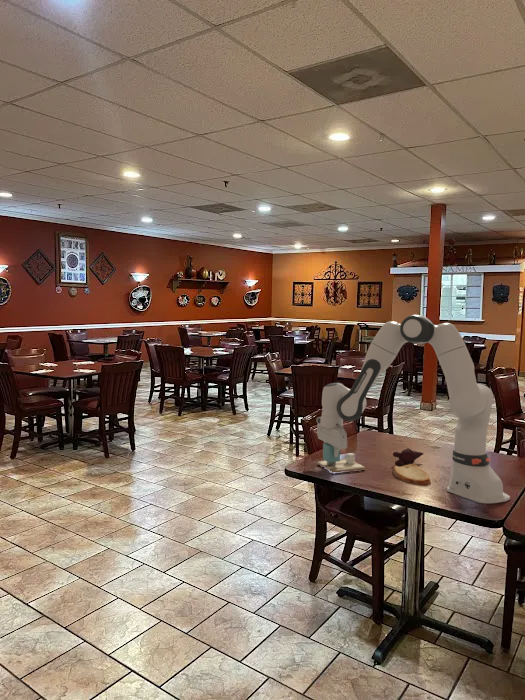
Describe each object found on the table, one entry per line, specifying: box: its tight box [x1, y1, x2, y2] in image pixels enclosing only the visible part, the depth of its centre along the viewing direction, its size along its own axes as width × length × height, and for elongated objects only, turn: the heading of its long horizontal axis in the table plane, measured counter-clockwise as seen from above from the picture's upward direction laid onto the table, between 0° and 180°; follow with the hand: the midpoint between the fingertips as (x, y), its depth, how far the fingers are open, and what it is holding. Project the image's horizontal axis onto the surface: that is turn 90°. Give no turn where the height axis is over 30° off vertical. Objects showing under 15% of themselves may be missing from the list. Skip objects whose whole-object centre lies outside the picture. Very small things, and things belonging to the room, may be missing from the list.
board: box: [316, 458, 366, 472], centre depth 229 cm, size 14×15×2 cm
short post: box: [345, 452, 356, 464], centre depth 230 cm, size 3×3×4 cm
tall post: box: [327, 462, 336, 466], centre depth 227 cm, size 3×3×7 cm
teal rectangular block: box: [322, 443, 341, 462], centre depth 227 cm, size 5×5×7 cm
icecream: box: [392, 447, 425, 466], centre depth 236 cm, size 7×7×15 cm
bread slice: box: [392, 463, 432, 486], centre depth 218 cm, size 18×18×4 cm
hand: (331, 454), depth 227 cm, fingers closed on teal rectangular block, 5 cm apart
